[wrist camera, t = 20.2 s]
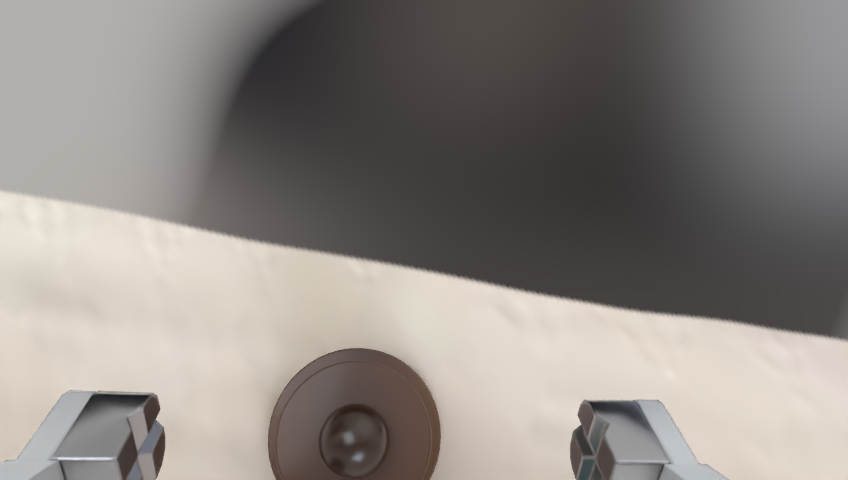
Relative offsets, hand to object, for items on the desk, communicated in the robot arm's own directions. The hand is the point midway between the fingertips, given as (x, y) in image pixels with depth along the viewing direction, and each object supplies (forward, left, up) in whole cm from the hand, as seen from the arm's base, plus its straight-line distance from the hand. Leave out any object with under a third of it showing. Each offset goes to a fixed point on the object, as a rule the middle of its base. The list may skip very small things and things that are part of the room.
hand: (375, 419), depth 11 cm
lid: (+1, 0, -13) cm, 13 cm away
